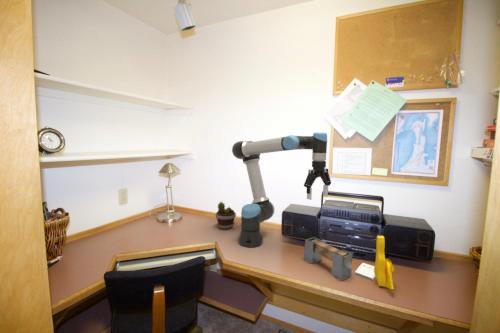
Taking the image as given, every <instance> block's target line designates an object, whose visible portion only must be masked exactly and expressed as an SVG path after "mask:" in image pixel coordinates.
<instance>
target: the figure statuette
mask: <svg viewBox="0 0 500 333" xmlns="http://www.w3.org/2000/svg"><path fill="white" fill-rule="evenodd" d="M385 243H386V240H385V236H384V235H377V236H376V252H375V262H374V266H375V267H374V274H375V280H376V282H377V284H378V286H379V287H384V288H387V289H389V290H395V287H394V282H393V281H394V280H393V273H394V271H395V267H394V264H393V263H392V261H391V260H390V258H389V257H388V258H386V255H385V254H386V253H385V248H386V244H385Z"/></svg>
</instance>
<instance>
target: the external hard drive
mask: <svg viewBox="0 0 500 333" xmlns="http://www.w3.org/2000/svg"><path fill="white" fill-rule="evenodd" d="M374 267H375V265H371V264H368V263H365V262H362V263H360V265H359V266H358V267H357V269H356V270H355V271H354V275H356V276H358V277H361V278H364V279H367V280H369V281H372V282H373V281H374V280H375V279H376V277H375V274H374Z"/></svg>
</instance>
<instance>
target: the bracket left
mask: <svg viewBox="0 0 500 333" xmlns="http://www.w3.org/2000/svg"><path fill="white" fill-rule="evenodd" d="M315 239H316V240H318V241H321V242H323V240H321V239H319V238H317V237H315V236H313V237H310V238H307V239H304V252H303V253H304V258H303V260H304V261H306V262H307V263H309V264H312V265H313V264H316V263H318V262H320V261H322V256H321V255H319V254H317V253H315V252H314V243H312V242H311V241H312V240H315Z"/></svg>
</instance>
